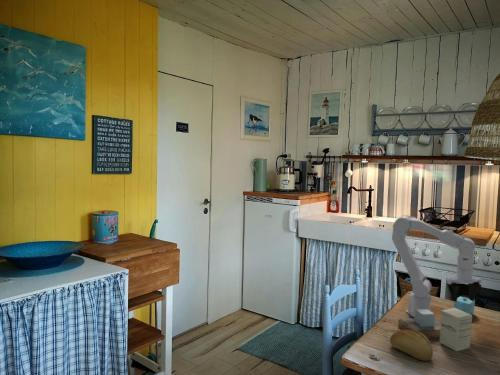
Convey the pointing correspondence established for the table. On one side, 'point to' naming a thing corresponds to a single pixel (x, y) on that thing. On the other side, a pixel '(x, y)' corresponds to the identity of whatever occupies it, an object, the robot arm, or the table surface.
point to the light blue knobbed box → (464, 305)
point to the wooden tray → (427, 331)
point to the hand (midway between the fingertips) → (462, 300)
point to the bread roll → (412, 343)
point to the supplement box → (455, 329)
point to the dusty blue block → (424, 317)
